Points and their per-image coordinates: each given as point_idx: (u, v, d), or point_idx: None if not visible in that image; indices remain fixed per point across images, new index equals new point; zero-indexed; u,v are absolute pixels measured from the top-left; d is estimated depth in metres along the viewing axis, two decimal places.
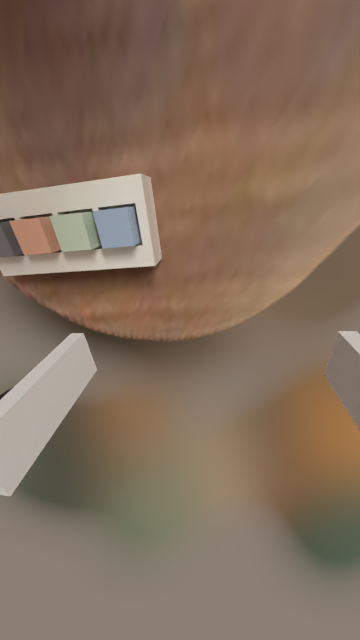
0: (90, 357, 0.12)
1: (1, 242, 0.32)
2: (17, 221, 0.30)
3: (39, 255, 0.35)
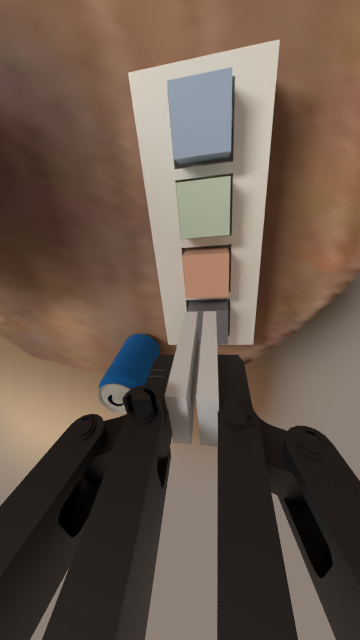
0: None
1: None
2: (186, 287, 0.24)
3: (232, 285, 0.25)
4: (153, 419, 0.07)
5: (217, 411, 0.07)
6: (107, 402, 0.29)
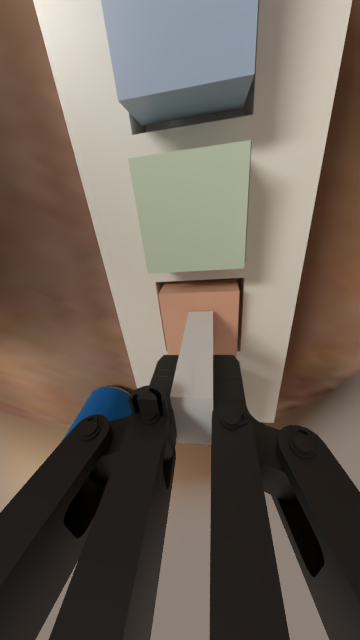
0: None
1: None
2: (168, 341, 0.15)
3: (243, 342, 0.15)
4: (159, 420, 0.07)
5: (211, 411, 0.07)
6: None
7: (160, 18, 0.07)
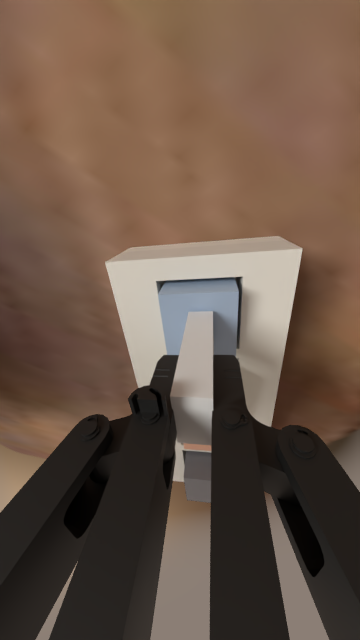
0: None
1: (210, 486, 0.21)
2: None
3: None
4: (159, 420, 0.07)
5: (211, 411, 0.07)
6: None
7: None
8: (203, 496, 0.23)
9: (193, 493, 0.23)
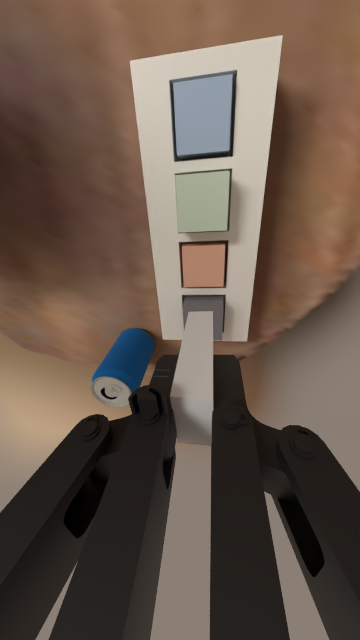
0: None
1: None
2: (184, 276, 0.25)
3: (228, 281, 0.26)
4: (159, 419, 0.07)
5: (212, 411, 0.07)
6: (100, 395, 0.29)
7: (196, 130, 0.19)
8: None
9: None
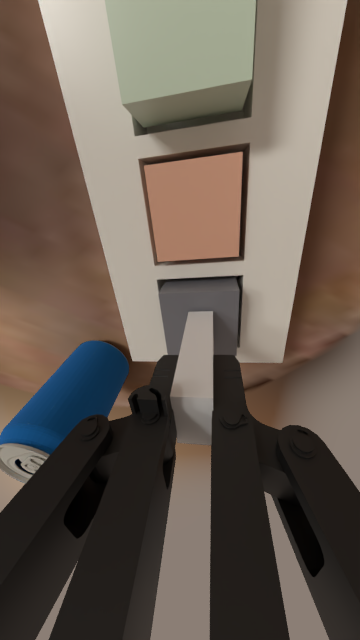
0: None
1: (203, 309, 0.13)
2: (157, 238, 0.12)
3: (248, 247, 0.12)
4: (159, 419, 0.07)
5: (211, 411, 0.07)
6: (16, 469, 0.16)
7: None
8: None
9: (176, 336, 0.14)
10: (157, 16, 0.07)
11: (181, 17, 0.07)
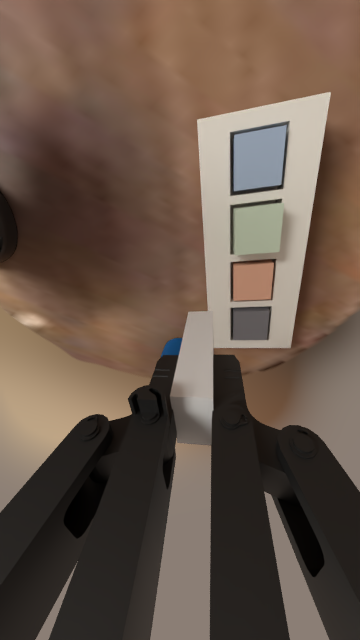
0: None
1: (253, 318, 0.30)
2: (234, 291, 0.28)
3: (274, 294, 0.28)
4: (159, 419, 0.07)
5: (211, 411, 0.07)
6: None
7: (252, 170, 0.22)
8: (246, 332, 0.31)
9: (238, 330, 0.31)
10: (250, 236, 0.23)
11: (258, 237, 0.23)
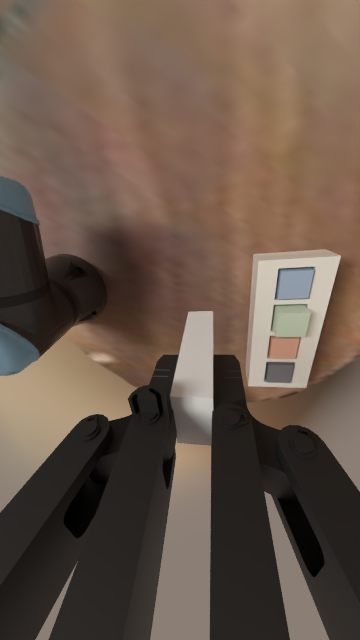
0: None
1: (282, 369, 0.43)
2: (271, 353, 0.42)
3: (298, 355, 0.42)
4: (159, 419, 0.07)
5: (211, 411, 0.07)
6: None
7: (290, 289, 0.35)
8: (276, 378, 0.45)
9: (271, 376, 0.45)
10: (287, 327, 0.37)
11: (292, 328, 0.36)
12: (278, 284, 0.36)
